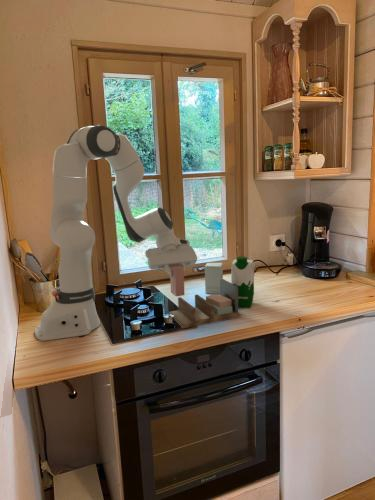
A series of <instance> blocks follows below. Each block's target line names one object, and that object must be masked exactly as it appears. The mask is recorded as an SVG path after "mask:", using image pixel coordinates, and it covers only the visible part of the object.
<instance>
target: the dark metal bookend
mask: <svg viewBox="0 0 375 500" xmlns="http://www.w3.org/2000/svg"><path fill="white" fill-rule="evenodd" d="M219 295H221V296H224V297H226V298H228V299H231V300H232V305H231V306H232V311H233V312H235V313H238V312H239V308H238V286H236V285H234V284H232V283H231V282H229V281H228V280H226V279H220V294H219Z"/></svg>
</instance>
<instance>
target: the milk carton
mask: <svg viewBox="0 0 375 500" xmlns="http://www.w3.org/2000/svg"><path fill="white" fill-rule="evenodd" d="M230 266H231V272H230V273H231V276H230V281H231V282H230V283H232V284H234V285H236V286H238V309H239V308H242V309H251V307H252V305H253V302H254V301H253V300H254V294H255V272H254V271H255V267H254V260H253V259H248V257H247V256H238V257H236V259H233V261H232V262H231V265H230Z"/></svg>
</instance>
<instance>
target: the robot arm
mask: <svg viewBox="0 0 375 500" xmlns="http://www.w3.org/2000/svg"><path fill="white" fill-rule="evenodd" d="M99 159H105V160H106V161H107V162H108V163H109V166H110V168H111V170H112V171H113V173H114V176H115V182H114V183H113V186H112V187H113V194H114V197H115V200H116V203H117V207H118V210H119V212H120V215H121V218H122V222H123V224H124V228H125V233H126V235H127V237H128V239H129V240H130V241H132V242H135V243H142V242H143V241H145V240H147V239H148V238H151V237H154V239H155V244H156V247H154V248H153V247H152V248H147V249H146V250H145V251H144V254H145V257H146V259H147V264H148V268H149V269H150V270H153V271H154V270H161V269H164V272H166V274H168V276H169V278H170V277H171V276H173V275H174V273H173V271H171V270H170V266H174V265H179V266H181V267H182V268H184V276H185V274H186V270H185V269H186V266H194V265H196V263H197V261H198V255H197V254H196V251H195V249H194V248H193V247H192V246H191V245H190V244H191V243H190V240H188V239H182V238H179V237H177V236H176V234H175V232H174V226H173V225H174V223H173V220H172V218H171V215H170V213H169V212H168V211H167V209H165V208H163V207H156V208H155V207H154V208H152V209H150V210H148V211H146V212H145V213H142V214H141V215H137V216H134V215H133V213H132V209H131V206H130V204H129V200H128V197H129V196H130V194H131V193H132V192H133V191H134V190H135V189H136V187H138V186H139V184H140V183H141V182H142V180H143V179H144V176H145V167H144V164H143V162H142V160H141V158H140V156H139V153H138V151H137V150H136V148H135V147H134V145H133V144H132V142H131V141H130V140H129V138H128V137H127V136H126V135H125V134H122V133H116V132H115V131H114V130H113V129H111V128H110V127H109V126H106V125H102V124H97V125H88V126H84V127H82V128H78V129H75V130H74V131H73V132H72V133H70V135H69V137H68V140H67V142H66V143H64V144H61V145H58V147H56V149H55V151H54V154H53V164H52V193H53V194H52V195H53V196H52V199H53V200H52V209H51V210H52V211H51V217H50V227H49V236H50V240H52V241H51V242H53V244H54V245H55V246H57V247H58V248H59V253H60V254H59V263H58V267H57V272H58V280H59V281H58V282H59V290H56V289H53V290H52V291H51V294H52V296H53V297H54V302H53V303H52V304H51V305H50V306H49V307H47V309H46V310H44V311H43V312H42V314H41V317H40V324H39V325H37V326H36V327H35V328H34V336H35V338H36V339H38V340H39V341H43V342H44V341H54V340H59V339H65V338H72V337H80V336H86V335H87V336H88V335H89V334H90V333H91V332H92V331H93V330H95V329H97V328H98V327H99V326H100V325H101V321H100V319H99V315H98V313H97V309H96V304H95V302H96V293H95V287H94V286H93V278H92V276H93V275H92V256H93V247H94V246H95V243H96V234H95V231H94V230H93V228H92V227H91V226H90V225H89V224H88V223H87V222H86V221H83V218H84V213H85V208H86V205H87V202H88V175H87V174H88V173H87V168H88V164H89V161H90V160H99Z"/></svg>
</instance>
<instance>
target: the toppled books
mask: <svg viewBox="0 0 375 500" xmlns="http://www.w3.org/2000/svg"><path fill="white" fill-rule="evenodd" d="M205 300H206V301H208V302H209V303H211V304H212V305H213V312H214V313H215V314H217V315H222V314H227V313H232V306H231V305H232V300H231V299H228V298H226V297H224V296H221V295H220V294H211V295H207V296H205Z"/></svg>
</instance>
